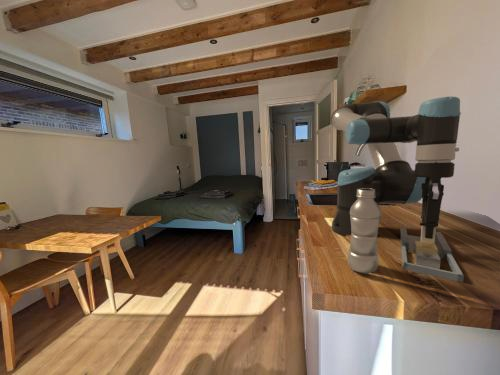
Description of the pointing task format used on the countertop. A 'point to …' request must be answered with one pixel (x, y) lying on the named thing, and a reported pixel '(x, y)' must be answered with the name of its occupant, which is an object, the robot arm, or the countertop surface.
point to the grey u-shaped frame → (454, 275)
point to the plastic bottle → (364, 232)
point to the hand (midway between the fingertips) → (426, 248)
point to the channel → (410, 240)
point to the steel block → (427, 258)
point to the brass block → (425, 246)
